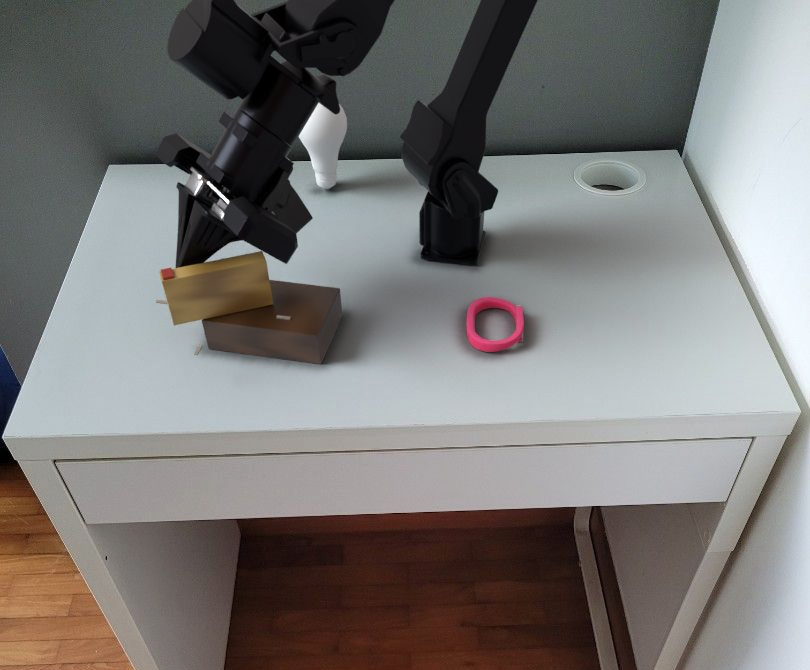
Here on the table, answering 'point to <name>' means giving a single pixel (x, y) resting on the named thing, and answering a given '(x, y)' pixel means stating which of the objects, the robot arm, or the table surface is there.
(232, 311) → the tap handle
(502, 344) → the fitness band
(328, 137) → the lightbulb
